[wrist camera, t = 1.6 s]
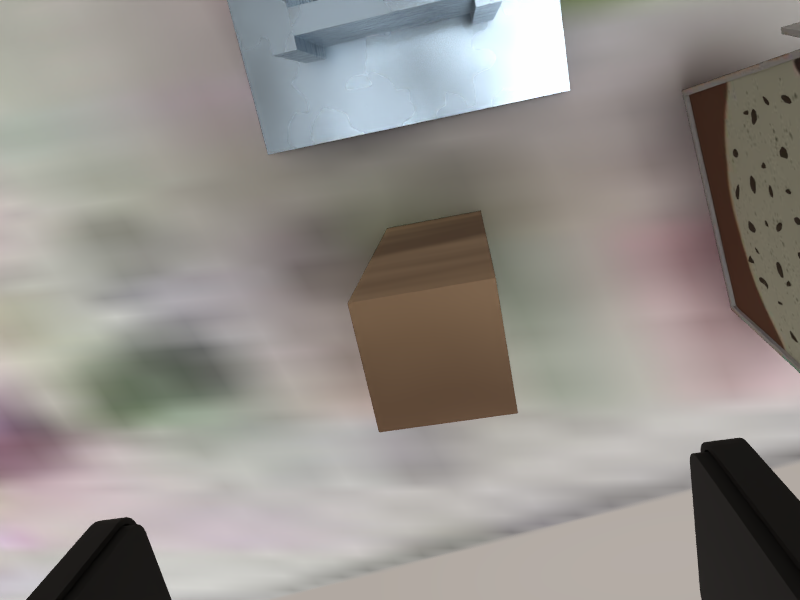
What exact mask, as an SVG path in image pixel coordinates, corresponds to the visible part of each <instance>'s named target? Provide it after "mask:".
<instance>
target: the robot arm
mask: <svg viewBox="0 0 800 600" xmlns="http://www.w3.org/2000/svg"><path fill="white" fill-rule="evenodd" d="M690 469H691V481H692V494H693V507H694V519H695V532H696V545H697V557H698V569H699V582H700V593H701V598H702V600H800V501H799V500H798V499H797V498H796V496H795V495H794V494H793V493H792V492H791V491H790V490H789V489H788V487H787V486H786V485H785V484H784V483H783V482H782V481H781V480H780V478H779V477H778V476H777V475H776V474H775V473H774V472H773V471H772V469H771V468H770V467H769V466H768V465H767V464H766V463H765V462H764V460H763V459H762V458H761V457H760V456H759V455H758V454H757V453H756V451H755V450H754V449H753V448H752V447H751V446H750V445H749V444H748V443H747V441H745V440H744V439H743V438H734V439H726V440H719V441H711V442H704V443H703V444H702V445H701V453H693V454H691V456H690ZM26 600H171V597H170V595H169V592H168V589H167V587H166V584H165V581H164V579H163V576H162V574H161V571H160V568H159V566H158V563H157V560H156V558H155V555H154V553H153V550H152V547H151V545H150V542H149V539H148V537H147V534H146V532H145V530H144V528H143V527H142V526H141V525H138V524H136V522H135V521H134V520H133V519H131V518H128V517H125V518H117V519H110V520H102V521H98V522H95V523H94V524H92V525H91V526H90V527H89V528H88V530H87V531H86V532H85V533H84V534H83V535H82V536H81V538H80V539H79V540H78V541H77V542H76V543H75V544H74V546H73V547H72V548H71V549H70V550H69V551H68V552H67V554H66V555H65V556H64V557H63V558H62V559H61V560H60V562H59V563H58V564H57V565H56V566H55V567H54V568H53V570H52V571H51V572H50V573H49V574H48V575H47V576H46V578H45V579H44V580H43V581H42V582H41V583H40V584H39V586H38V587H37V588H36V589H35V590H34V591H33V592H32V594H31V595H30V596H29V597H28V598H27V599H26Z"/></svg>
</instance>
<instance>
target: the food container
mask: <svg viewBox="0 0 800 600" xmlns="http://www.w3.org/2000/svg"><path fill="white" fill-rule="evenodd" d="M781 31H782V34H785V35H790V36H795V37H800V22H799V23H795V24H792V25H788V26H785V27H782V28H781ZM682 94H683V98H684V103H685V107H686V112H687V116H688V120H689V125H690V129H691V134H692V138H693V143H694V147H695V151H696V156H697V160H698V165H699V169H700V173H701V178H702V182H703V187H704V191H705V196H706V200H707V204H708V209H709V213H710V218H711V222H712V227H713V231H714V235H715V240H716V244H717V249H718V253H719V257H720V262H721V266H722V271H723V275H724V280H725V284H726V288H727V293H728V297H729V302H730V306H731V309H732V310H733V311H734V312H735V313H736V314H737V315H738V316H739V317H740V318H741V319H742V320H743V321H744V322H746V323H747V324H748V325H749V326H750V327H751V328H752V329H753V330H754V331H755V332H756V333H757V334H758V335H760V336H761V337H762V338H763V339H764V340H765V341H766V342H767V343H768V344H769V345H770V346H771V347H772V348H773V349H775V350H776V351H777V352H778V353H779V354H780V355H781V356H782V357H783V358H784V359H785V360H786V361H787V362H789V363H790V364H791V365H792V366H793V367H794V368H795V369H796V370H797V371H798V372H799V373H800V49H799V50H796V51H793V52H790V53H788V54H785V55H782V56H779V57H776V58H773V59H770V60H768V61H765V62H762V63H759V64H756V65H753V66H751V67H748V68H745V69H742V70H739V71H736V72H733V73H731V74H728V75H725V76H722V77H719V78H716V79H714V80H711V81H708V82H705V83H702V84H699V85H696V86H694V87H691V88H688V89H685V90H682Z"/></svg>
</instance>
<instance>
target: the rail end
mask: <svg viewBox="0 0 800 600" xmlns="http://www.w3.org/2000/svg"><path fill="white" fill-rule="evenodd" d="M348 307H349V311H350V315H351V319H352V323H353V328H354V332H355V336H356V340H357V344H358V348H359V352H360V356H361V360H362V364H363V369H364V373H365V377H366V381H367V385H368V389H369V393H370V397H371V401H372V405H373V409H374V414H375V418H376V422H377V426H378V430H379V432H385V431H392V430H399V429H406V428H414V427H421V426H428V425H435V424H443V423H450V422H457V421H464V420H472V419H479V418H486V417H493V416H501V415H508V414H515V413H518V411H517V405H516V399H515V393H514V387H513V381H512V375H511V368H510V362H509V356H508V350H507V344H506V338H505V332H504V326H503V320H502V314H501V308H500V302H499V296H498V290H497V284H496V278H495V273H494V269H493V264H492V260H491V255H490V251H489V246H488V242H487V237H486V233H485V228H484V224H483V219H482V215H481V211H477V212H471V213H466V214H461V215H455V216H450V217H445V218H439V219H434V220H429V221H424V222H418V223H413V224H408V225H402V226H397V227H392V228H387V230H386V232H385V234H384V235H383V237H382V239H381V241H380V243H379V245H378V247H377V249H376V251H375V252H374V254H373V256H372V258H371V260H370V262H369V264H368V266H367V268H366V269H365V271H364V273H363V275H362V277H361V279H360V281H359V283H358V285H357V286H356V288H355V290H354V292H353V294H352V296H351V298H350V300H349V301H348Z"/></svg>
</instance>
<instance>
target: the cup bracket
mask: <svg viewBox="0 0 800 600" xmlns="http://www.w3.org/2000/svg"><path fill="white" fill-rule="evenodd" d="M227 2H228V5H229V9H230V13H231V17H232V20H233V24H234V28H235V32H236V35H237V39H238V43H239V47H240V51H241V54H242V58H243V62H244V66H245V69H246V73H247V77H248V81H249V84H250V88H251V92H252V96H253V100H254V103H255V107H256V111H257V115H258V118H259V122H260V126H261V130H262V134H263V137H264V141H265V145H266V149H267V152H268V155H269V154H273V153H278V152H283V151H287V150H292V149H297V148H302V147H306V146H311V145H316V144H320V143H325V142H330V141H334V140H339V139H344V138H349V137H353V136H358V135H363V134H367V133H372V132H377V131H381V130H386V129H391V128H396V127H400V126H405V125H410V124H414V123H419V122H424V121H428V120H433V119H438V118H443V117H447V116H452V115H457V114H461V113H466V112H471V111H475V110H480V109H485V108H489V107H494V106H499V105H504V104H508V103H513V102H518V101H522V100H527V99H532V98H536V97H541V96H546V95H551V94H555V93H560V92H565V91H569V90H570V85H569V76H568V67H567V59H566V50H565V41H564V33H563V24H562V15H561V7H560V0H227Z"/></svg>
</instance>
